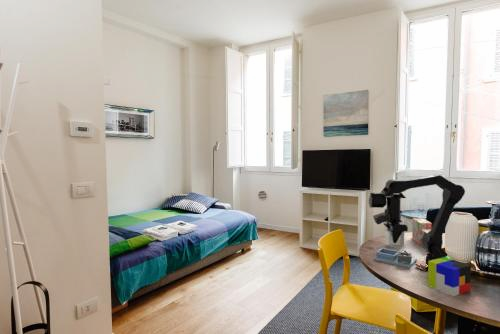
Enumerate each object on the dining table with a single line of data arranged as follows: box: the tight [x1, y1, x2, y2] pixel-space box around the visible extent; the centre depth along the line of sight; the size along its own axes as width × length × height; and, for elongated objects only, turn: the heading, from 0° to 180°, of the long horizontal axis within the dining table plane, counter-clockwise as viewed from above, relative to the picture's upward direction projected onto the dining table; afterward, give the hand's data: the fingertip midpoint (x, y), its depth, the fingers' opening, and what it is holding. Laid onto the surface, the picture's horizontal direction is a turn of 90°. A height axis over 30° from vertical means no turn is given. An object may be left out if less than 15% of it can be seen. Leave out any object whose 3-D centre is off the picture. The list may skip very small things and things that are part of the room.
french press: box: [384, 218, 407, 249], centre depth 172 cm, size 10×12×25 cm
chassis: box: [374, 247, 418, 269], centre depth 150 cm, size 16×11×4 cm
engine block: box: [385, 229, 400, 246], centre depth 141 cm, size 5×4×7 cm
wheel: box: [398, 251, 413, 262], centre depth 145 cm, size 6×6×2 cm
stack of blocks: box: [411, 217, 433, 248], centre depth 174 cm, size 21×6×12 cm, turn 170°
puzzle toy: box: [427, 256, 472, 297], centre depth 120 cm, size 10×10×10 cm
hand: (393, 241), depth 141 cm, fingers closed on engine block, 4 cm apart
